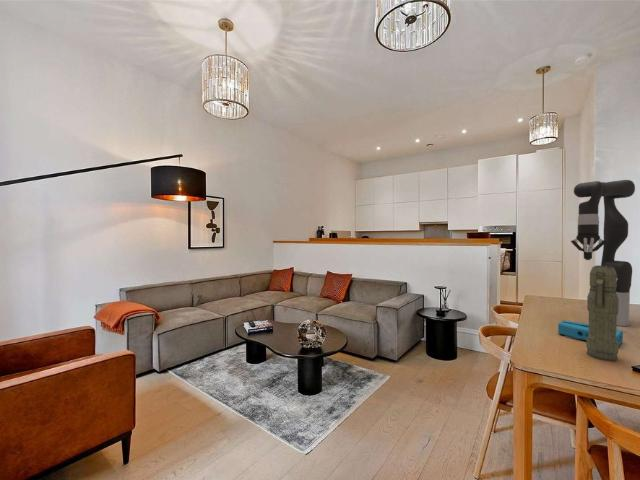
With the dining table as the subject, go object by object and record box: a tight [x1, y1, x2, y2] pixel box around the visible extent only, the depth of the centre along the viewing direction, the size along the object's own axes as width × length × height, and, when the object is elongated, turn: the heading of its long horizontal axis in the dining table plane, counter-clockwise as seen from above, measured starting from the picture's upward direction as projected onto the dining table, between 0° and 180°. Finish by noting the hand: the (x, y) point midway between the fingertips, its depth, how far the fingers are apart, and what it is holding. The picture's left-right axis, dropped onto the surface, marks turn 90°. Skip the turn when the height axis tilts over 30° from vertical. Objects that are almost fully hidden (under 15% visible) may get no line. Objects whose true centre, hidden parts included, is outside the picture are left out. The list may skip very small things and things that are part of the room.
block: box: [557, 320, 624, 347], centre depth 133 cm, size 12×5×20 cm
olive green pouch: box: [586, 265, 619, 362], centre depth 114 cm, size 9×12×35 cm
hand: (587, 259), depth 142 cm, fingers closed
